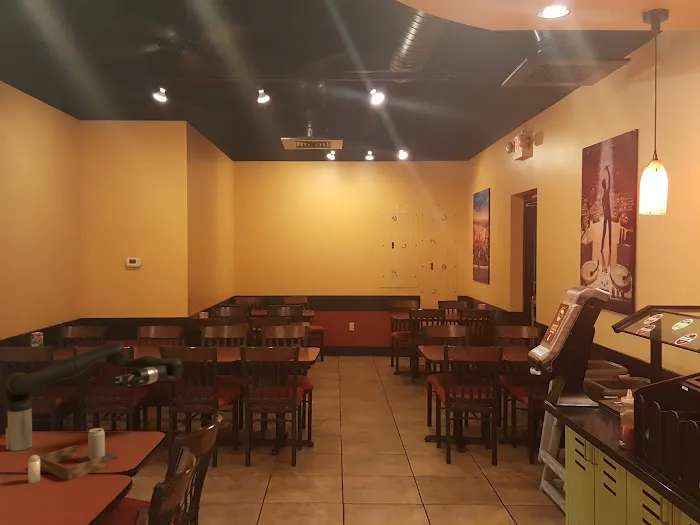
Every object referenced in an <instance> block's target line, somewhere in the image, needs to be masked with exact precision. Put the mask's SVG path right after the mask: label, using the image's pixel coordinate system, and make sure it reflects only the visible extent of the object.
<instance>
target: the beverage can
mask: <svg viewBox="0 0 700 525" xmlns="http://www.w3.org/2000/svg"><path fill="white" fill-rule="evenodd" d="M104 430H105V429H104V427H103V428H102V427H97V428H91V429H89V431H88V433H87V446H88V447H87V452H88V454H87V456H88V458H89V459H90V460H93V459H96V458H99V457H102V456H105V452H106V443H105V442H106V436H105V434H106V433H105V431H104Z"/></svg>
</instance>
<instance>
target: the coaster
mask: <svg viewBox="0 0 700 525" xmlns="http://www.w3.org/2000/svg"><path fill="white" fill-rule="evenodd" d="M105 455H106V456H107V460H110V459H113V460H115V459H114V458H116V459H118V458H119V456H117V455H115V454H112V453H109V452H106V451H105ZM117 457H118V458H117ZM75 460H77V461H76V462H78V461H79V462H78V463H80V462H82V463H84V462H87V461H90V459H89V458H88V455H85V456H81V457H78V458H76V459H74V461H75ZM110 461H111V460H110Z"/></svg>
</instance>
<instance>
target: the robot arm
mask: <svg viewBox="0 0 700 525" xmlns="http://www.w3.org/2000/svg"><path fill="white" fill-rule="evenodd" d="M103 358H105V363H106V364H107V365H109V366H111V367H115V368H124V369H125V368H126V369H129V368H130V369H134V370H133V371H132V372H131V373H129V374H126V373H124V374H118V375H113V376H112V378H108V379H106V384H107V385H112V384H117V383H118V387H119V388H122V387H126V386H128V387H130V386H131V387H134V386H135V387H140V386H141V387H142V386H144V385H149V384H152V383H155V382H158V381H170V382H171V381H172V382H173V381H174V382H176V381H178V380H179V379H180V378H181V377H182V376H181V375H182V368H183V361H182V360H181V359H179V358H159V357H156V356H153V355H143V356H140V357H136V358H130V357H128V356H126V347H125V343H123V342H122V341H120V340H119V341H112V342H108V343H105V344H102V345H100V346H98V347H96V348H94V349H91V350H89V351H85V352H82V353H80V354H76V355H73V356H70V357H66V358H62V359H60V360H58V361H56V362H54V363H52V364H50V365H49V366H48V367H45V368H44V369H40V370H37V371H34V372H30V373H25V372H22V371H17V372H13V373H12V374H10V375H9V376H8V378H7V379H6V382H5V394H6V395H5V396H6V397H5V400H6V405H7V427H6V428H5V450H6V451H13V452H15V451H22V450H23V451H24V450H26V449H29V448H32V446H33V416H32V415H33V414H32V412H33V410H32V409H33V408H32V400H31V399H32V398H31V392H33V391H36V390H38V389H40V388H42V387H45V386H48V385H52V384H54V383H57V382H61V381H64V380H67V379H71V378H73V377H76V376H79V375H81V374H83V373H85V371H86V370H88V369H89V368H90V366H92V365H93V364H94V363H95V362H97V361H99V360H100V359H103Z"/></svg>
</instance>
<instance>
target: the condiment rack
mask: <svg viewBox="0 0 700 525" xmlns="http://www.w3.org/2000/svg"><path fill="white" fill-rule="evenodd" d="M78 452H79V450H78V445H77V444H76V445H75V444H74V445H72V446H68V447H65V448H61V449H58V450H55V451H52V452H49V453H46V454H43V455H38V456H39V457H40V468H41V469H43V470H42V471H44V470H45V471H44V472H46V471H47V472H46V473H49V474H51V475H54V476H56V477H57V478H58V477H59V478H60V479H63V480H66V481H72V480H75V479H77V478H80V477H82V476H86V475H88V473H89V474H91V473H93V472H92V471H94V472H96V471H95V470H97V471H99V470H98V469H100V468H102V469H104V468H103V467H105V466H107V467H108V461H107V456H106V455H105V456H102V457H99V458H96V459H93V460H90V461H87V462H84V463H78V464H75V465H73V466H66V465H64V464H62V463H61V462H64V461H66V460H65V459H67V460H69V459H68V458H70V459H72V458H71V457H73V458H75V457H74V456H76V457H78V456H77V455H79V454H78ZM63 460H64V461H63ZM60 461H61V462H60ZM57 462H58V463H57ZM105 468H106V467H105ZM41 469H40V470H41ZM100 470H101V469H100ZM90 472H91V473H90Z"/></svg>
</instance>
